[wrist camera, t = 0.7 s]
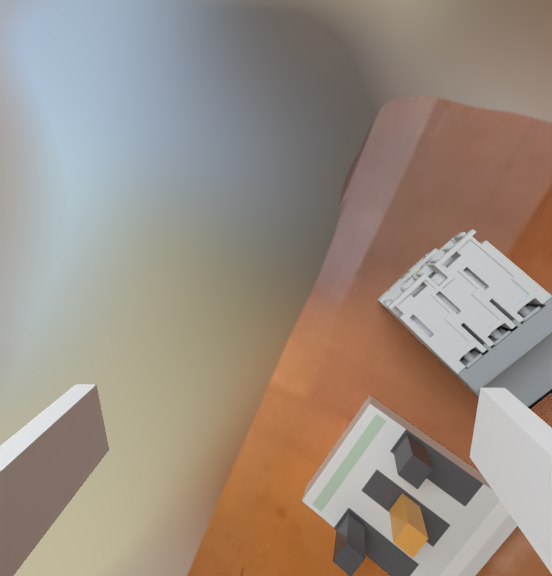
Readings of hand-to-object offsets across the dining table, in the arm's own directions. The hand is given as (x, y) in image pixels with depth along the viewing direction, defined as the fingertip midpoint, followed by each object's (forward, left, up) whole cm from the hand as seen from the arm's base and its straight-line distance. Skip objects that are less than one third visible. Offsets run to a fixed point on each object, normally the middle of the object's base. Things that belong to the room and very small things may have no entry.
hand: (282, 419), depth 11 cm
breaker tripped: (-15, +12, -25) cm, 31 cm away
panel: (-15, +12, -28) cm, 34 cm away
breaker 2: (-12, +6, -25) cm, 28 cm away
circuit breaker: (-9, -7, -28) cm, 31 cm away
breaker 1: (-12, +17, -25) cm, 33 cm away
